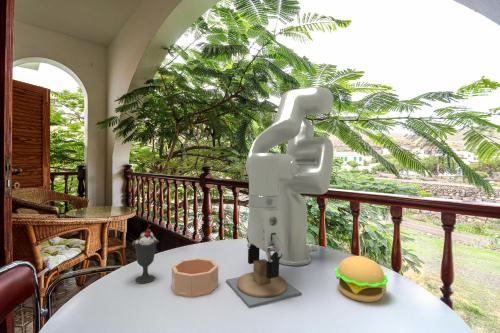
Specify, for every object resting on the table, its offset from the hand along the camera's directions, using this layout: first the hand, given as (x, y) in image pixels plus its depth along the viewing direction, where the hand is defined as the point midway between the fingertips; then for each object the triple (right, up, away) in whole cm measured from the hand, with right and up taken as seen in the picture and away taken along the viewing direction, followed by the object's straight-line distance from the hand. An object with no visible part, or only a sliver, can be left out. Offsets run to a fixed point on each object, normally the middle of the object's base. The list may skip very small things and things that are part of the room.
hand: (262, 269), depth 66 cm
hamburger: (+24, -5, -2) cm, 25 cm away
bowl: (-17, -4, 0) cm, 18 cm away
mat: (0, -5, 0) cm, 5 cm away
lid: (0, -4, 0) cm, 4 cm away
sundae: (-31, -4, +3) cm, 31 cm away
